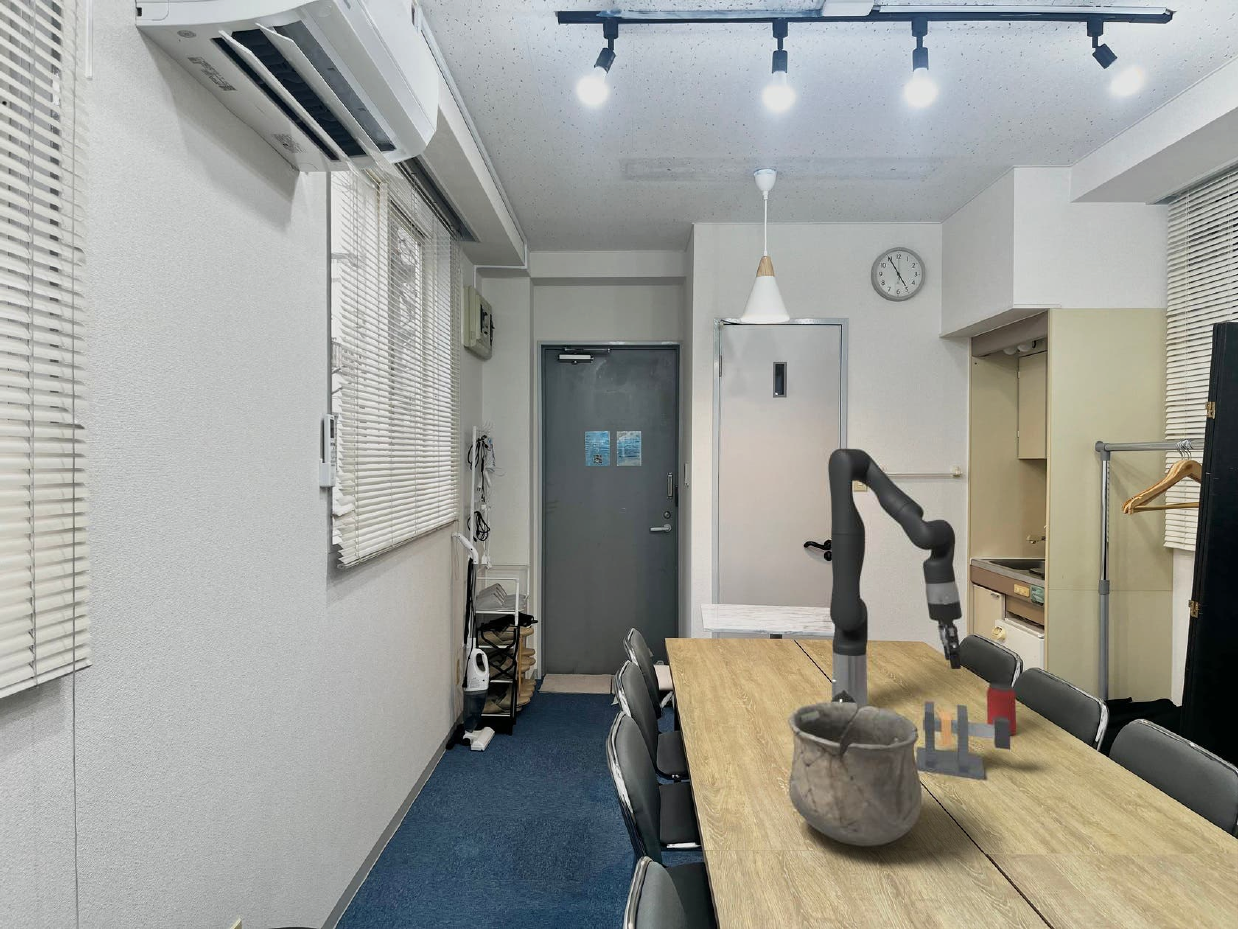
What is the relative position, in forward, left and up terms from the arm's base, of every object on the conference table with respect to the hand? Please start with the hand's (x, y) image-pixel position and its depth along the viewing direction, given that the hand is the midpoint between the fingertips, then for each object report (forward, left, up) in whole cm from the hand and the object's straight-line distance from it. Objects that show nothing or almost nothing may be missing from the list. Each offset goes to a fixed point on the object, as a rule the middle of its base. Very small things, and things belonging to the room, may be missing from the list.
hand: (953, 664), depth 175 cm
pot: (-18, -54, -21) cm, 61 cm away
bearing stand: (-1, -13, -20) cm, 24 cm away
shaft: (+2, -13, -14) cm, 20 cm away
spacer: (-2, -13, -15) cm, 20 cm away
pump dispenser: (-24, -17, -20) cm, 36 cm away
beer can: (+12, +15, -20) cm, 28 cm away
